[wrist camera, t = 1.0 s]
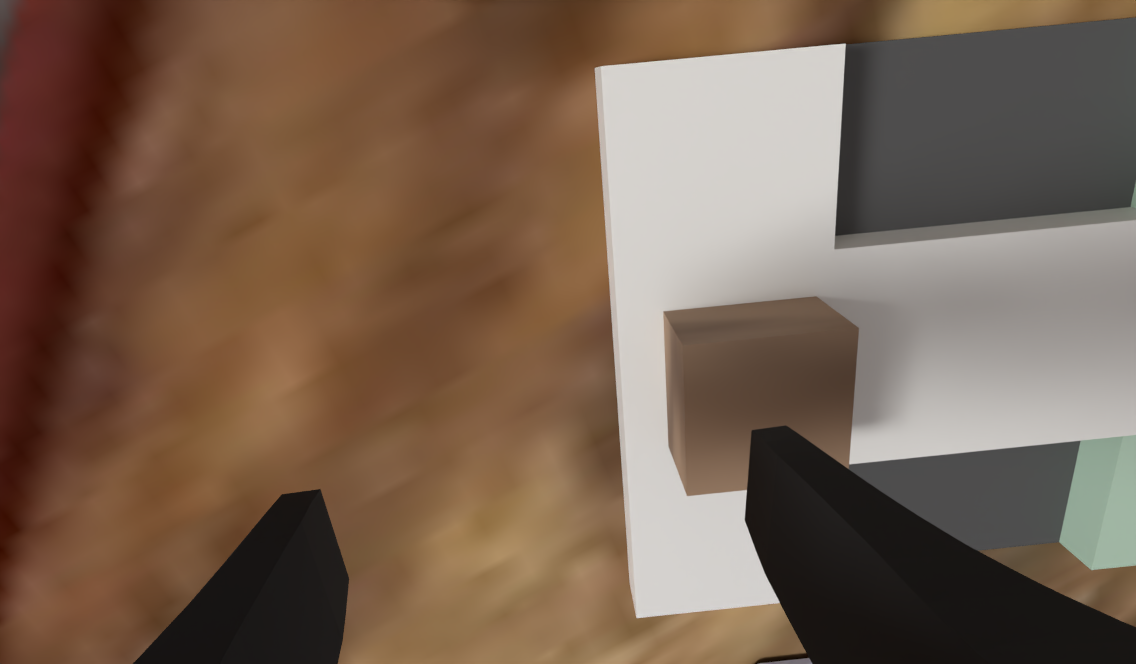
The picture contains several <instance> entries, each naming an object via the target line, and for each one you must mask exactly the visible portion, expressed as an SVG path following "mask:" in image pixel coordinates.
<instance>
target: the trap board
mask: <svg viewBox="0 0 1136 664" xmlns="http://www.w3.org/2000/svg"><path fill="white" fill-rule="evenodd" d="M595 80H596V95H597V109H598V124H599V139H600V154H601V168H602V183H603V198H604V212H605V227H606V242H607V257H608V271H609V286H610V301H611V315H612V330H613V345H614V359H615V374H616V389H617V404H618V418H619V433H620V448H621V462H622V477H623V492H624V507H625V521H626V536H627V551H628V565H629V580H630V586H631V592H632V597H633V602H634V607H635V612H636V617H637V618H642V617H651V616H661V615H670V614H680V613H689V612H698V611H708V610H717V609H727V608H736V607H746V606H755V605H765V604H774V603H780V602H779V600H778V598H777V596H776V594H775V592H774V590H773V589H772V587H771V585H770V583H769V581H768V579H767V577H766V575H765V573H764V570H763V567H762V565H761V562H760V560H759V557H758V555H757V552H756V550H755V547H754V544H753V542H752V539H751V536H750V533H749V531H748V528H747V525H746V523H745V508H746V495H747V490H742V491H733V492H723V493H713V494H704V495H694V496H687V495H686V492H685V489H684V487H683V484H682V481H681V479H680V476H679V473H678V471H677V468H676V465H675V463H674V460H673V457H672V455H671V452H670V449H669V447H668V423H667V398H666V372H665V346H664V320H663V311H673V310H683V309H693V308H703V307H713V306H723V305H733V304H743V303H754V302H764V301H774V300H784V299H794V298H804V297H814V296H817V297H818V298H819V299H821V300H822V301H823V302H825V303H826V304H827V305H829V306H830V307H831V308H833V309H834V310H835V311H837V312H838V313H840V314H841V315H842V316H844V317H845V318H846V319H848V320H849V321H850V322H852V323H853V324H854V325H856V326H857V327H858V328H859V336H858V350H857V363H856V377H855V391H854V405H853V418H852V432H851V446H850V460H849V470H851V471H852V472H853V473H855V474H856V475H858V476H859V477H861V478H862V479H864V480H865V481H866V482H868V483H869V484H871V485H872V486H874V487H875V488H877V489H878V490H880V491H881V492H883V493H884V494H886V495H887V496H889V497H890V498H892V499H893V500H895V501H896V502H898V503H899V504H901V505H902V506H904V507H906V508H907V509H909V510H910V511H912V512H913V513H915V514H916V515H918V516H920V517H921V518H923V519H925V520H926V521H928V522H930V523H931V524H933V525H934V526H936V527H938V528H939V529H941V530H943V531H944V532H946V533H948V534H949V535H951V536H953V537H954V538H956V539H958V540H959V541H961V542H963V543H964V544H966V545H968V546H970V547H972V548H973V549H975V550H977V551H978V550H988V549H997V548H1007V547H1016V546H1026V545H1035V544H1045V543H1054V542H1060V543H1061V544H1062V545H1063V546H1064V547H1065V548H1067V549H1068V550H1069V551H1070V552H1071V553H1072V554H1073V555H1075V556H1076V557H1077V558H1078V559H1079V560H1080V561H1082V562H1083V563H1084V564H1085V565H1086V566H1087V567H1088V568H1090V569H1091V570H1096V569H1105V568H1115V567H1124V566H1133V565H1136V18H1126V19H1115V20H1104V21H1094V22H1083V23H1072V24H1062V25H1051V26H1040V27H1029V28H1019V29H1008V30H997V31H986V32H976V33H965V34H954V35H944V36H933V37H922V38H911V39H901V40H890V41H879V42H868V43H858V44H847V45H846V44H836V45H825V46H814V47H804V48H793V49H782V50H771V51H761V52H750V53H739V54H728V55H718V56H707V57H696V58H686V59H675V60H664V61H653V62H643V63H632V64H621V65H610V66H600V67H597V68H595Z"/></svg>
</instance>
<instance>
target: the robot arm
mask: <svg viewBox="0 0 1136 664" xmlns="http://www.w3.org/2000/svg"><path fill="white" fill-rule="evenodd" d="M745 523H746V525H747V528H748V531H749V533H750V536H751V539H752V542H753V544H754V547H755V550H756V552H757V555H758V557H759V560H760V562H761V565H762V567H763V570H764V573H765V575H766V577H767V579H768V581H769V583H770V585H771V587H772V589H773V590H774V592H775V594H776V596H777V598H778V600H779V602H780V604H781V606H782V608H783V610H784V611H785V613H786V615H787V617H788V619H789V621H790V623H791V625H792V627H793V628H794V630H795V632H796V634H797V636H798V638H799V640H800V642H801V643H802V645H803V647H804V649H805V651H806V653H807V655H808V657H809V658H804V659H794V660H785V661H776V662H766V663H759V664H1136V627H1134V626H1131V625H1129V624H1126V623H1124V622H1122V621H1119V620H1117V619H1115V618H1113V617H1111V616H1108V615H1106V614H1104V613H1102V612H1100V611H1097V610H1095V609H1093V608H1091V607H1089V606H1086V605H1084V604H1082V603H1080V602H1078V601H1075V600H1073V599H1071V598H1069V597H1067V596H1064V595H1062V594H1060V593H1058V592H1056V591H1054V590H1052V589H1050V588H1048V587H1046V586H1044V585H1042V584H1040V583H1038V582H1036V581H1034V580H1032V579H1030V578H1028V577H1026V576H1024V575H1022V574H1020V573H1018V572H1016V571H1014V570H1013V569H1011V568H1009V567H1007V566H1005V565H1003V564H1001V563H999V562H997V561H995V560H994V559H992V558H990V557H988V556H986V555H984V554H982V553H980V552H979V551H977V550H975V549H973V548H972V547H970V546H968V545H966V544H964V543H963V542H961V541H959V540H958V539H956V538H954V537H953V536H951V535H949V534H948V533H946V532H944V531H943V530H941V529H939V528H938V527H936V526H934V525H933V524H931V523H930V522H928V521H926V520H925V519H923V518H921V517H920V516H918V515H916V514H915V513H913V512H912V511H910V510H909V509H907V508H906V507H904V506H902V505H901V504H899V503H898V502H896V501H895V500H893V499H892V498H890V497H889V496H887V495H886V494H884V493H883V492H881V491H880V490H878V489H877V488H875V487H874V486H872V485H871V484H869V483H868V482H866V481H865V480H864V479H862V478H861V477H859V476H858V475H856V474H855V473H853V472H852V471H851V470H849V469H848V468H846V467H845V466H844V465H842V464H841V463H839V462H838V461H836V460H835V459H834V458H832V457H831V456H829V455H828V454H827V453H825V452H824V451H822V450H821V449H820V448H818V447H817V446H815V445H814V444H813V443H811V442H810V441H808V440H807V439H805V438H804V437H803V436H801V435H800V434H798V433H797V432H795V431H794V430H792V429H791V428H789V427H788V426H786V425H785V426H778V427H770V428H763V429H756V430H752V431H751V444H750V456H749V469H748V482H747V495H746V508H745ZM348 584H349V577H348V574H347V571H346V568H345V565H344V562H343V558H342V555H341V552H340V549H339V546H338V543H337V540H336V537H335V534H334V530H333V527H332V524H331V521H330V518H329V515H328V512H327V509H326V506H325V502H324V499H323V496H322V493H321V490H320V489H318V490H311V491H304V492H296V493H289V494H282V495H281V496H280V497H279V498H278V500H277V501H276V502H275V503H274V504H273V505H272V507H271V508H270V509H269V510H268V511H267V512H266V514H265V515H264V516H263V517H262V518H261V520H260V521H259V522H258V523H257V524H256V526H255V527H254V528H253V529H252V530H251V532H250V533H249V534H248V535H247V536H246V538H245V539H244V540H243V541H242V542H241V544H240V545H239V546H238V547H237V548H236V550H235V551H234V552H233V553H232V554H231V556H230V557H229V558H228V559H227V560H226V562H225V563H224V564H223V565H222V566H221V567H220V569H219V570H218V571H217V572H216V573H215V574H214V576H213V577H212V578H211V579H210V580H209V581H208V582H207V584H206V585H205V586H204V587H203V588H202V589H201V591H200V592H199V593H198V594H197V595H196V596H195V597H194V599H193V600H192V601H191V602H190V603H189V604H188V606H187V607H186V608H185V609H184V610H183V611H182V612H181V613H180V614H179V615H178V616H177V617H176V618H175V619H174V621H173V622H172V623H171V624H170V625H169V626H168V627H167V628H166V629H165V630H164V631H163V632H162V633H161V634H160V636H159V637H158V638H157V639H156V640H155V641H154V642H153V643H152V644H151V645H150V646H149V647H148V648H147V649H146V651H145V652H144V653H143V654H142V655H141V656H140V657H139V658H138V659H137V660H136V661H135V662H134V663H133V664H337V663H338V659H339V654H340V650H341V645H342V640H343V632H344V624H345V615H346V605H347V595H348Z"/></svg>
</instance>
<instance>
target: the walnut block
mask: <svg viewBox="0 0 1136 664" xmlns="http://www.w3.org/2000/svg"><path fill="white" fill-rule="evenodd" d="M663 320H664V346H665V372H666V398H667V423H668V447H669V449H670V452H671V455H672V457H673V460H674V463H675V465H676V468H677V471H678V473H679V476H680V479H681V481H682V484H683V487H684V489H685V492H686V495H687V496H694V495H704V494H713V493H723V492H733V491H742V490H747V482H748V469H749V456H750V444H751V431H752V430H756V429H763V428H770V427H778V426H785V425H786V426H788V427H789V428H791V429H792V430H794V431H795V432H797V433H798V434H800V435H801V436H803V437H804V438H805V439H807V440H808V441H810V442H811V443H813V444H814V445H815V446H817V447H818V448H820V449H821V450H822V451H824V452H825V453H827V454H828V455H829V456H831V457H832V458H834V459H835V460H836V461H838V462H839V463H841V464H842V465H844V466H845V467H846V468H848V469H849V460H850V446H851V432H852V418H853V405H854V391H855V377H856V363H857V350H858V336H859V328H858V327H857V326H856V325H854V324H853V323H852V322H850V321H849V320H848V319H846V318H845V317H844V316H842V315H841V314H840V313H838V312H837V311H835V310H834V309H833V308H831V307H830V306H829V305H827V304H826V303H825V302H823V301H822V300H821V299H819V298H818V297H817V296H814V297H804V298H794V299H784V300H774V301H764V302H754V303H743V304H733V305H723V306H713V307H703V308H693V309H683V310H673V311H663Z"/></svg>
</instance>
